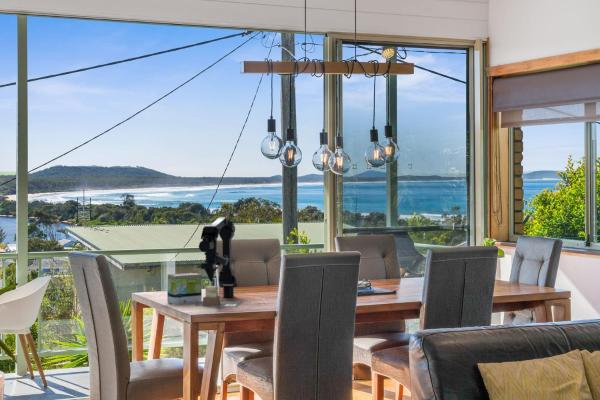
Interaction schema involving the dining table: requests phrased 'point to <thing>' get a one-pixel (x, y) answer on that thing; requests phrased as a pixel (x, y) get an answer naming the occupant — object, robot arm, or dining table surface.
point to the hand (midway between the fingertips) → (211, 281)
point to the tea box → (184, 288)
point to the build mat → (222, 304)
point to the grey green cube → (211, 291)
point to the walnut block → (211, 301)
